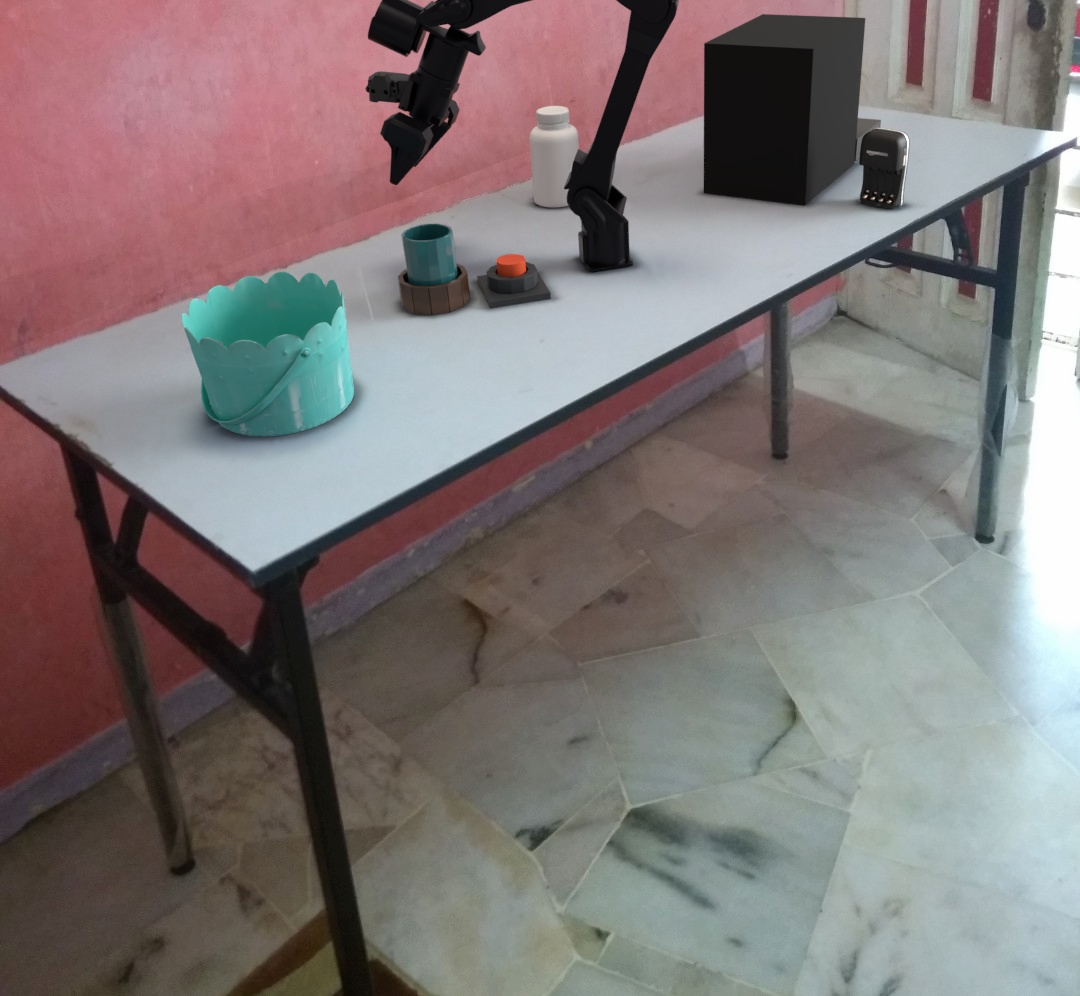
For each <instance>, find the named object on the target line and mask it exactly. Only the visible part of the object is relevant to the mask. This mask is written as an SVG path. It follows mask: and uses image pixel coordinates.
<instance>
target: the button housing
mask: <svg viewBox="0 0 1080 996" xmlns="http://www.w3.org/2000/svg"><path fill="white" fill-rule="evenodd" d="M525 264H526V273H525V274H522V275H520V276H514V277H502V276H499V275H498V273H497V264H495V265H492V266H490V267H489V268H488V269H487V271H486V274H482V275H477V276H476V280H477V284H478V286H479V288H480V290H481V293H482V294H483V296H484V298H485V300H486V302H487V304H488V306H489V308H490V309H495V308H496V309H497V308H502V307H509V306H514V305H515V306H516V305H520V304H528V303H534V302H541V301H547V300H551V299H552V293H551V291H550V289H549V288H548V286H547V284H546V283H545V281H544V280H543V278H542V277H541V275H540V274H539V272H538V268H537V267H536V265H535V264H534V263H531V262H529V261H525Z"/></svg>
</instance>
